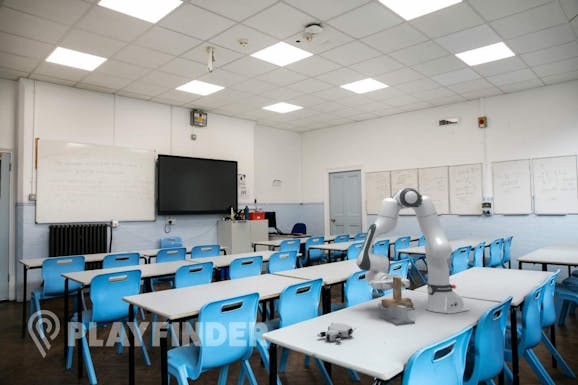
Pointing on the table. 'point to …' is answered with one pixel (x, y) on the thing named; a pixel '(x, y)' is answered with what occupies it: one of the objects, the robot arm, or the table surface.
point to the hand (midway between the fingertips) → (398, 286)
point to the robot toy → (337, 332)
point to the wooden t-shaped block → (397, 295)
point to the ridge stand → (398, 315)
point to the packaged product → (383, 307)
